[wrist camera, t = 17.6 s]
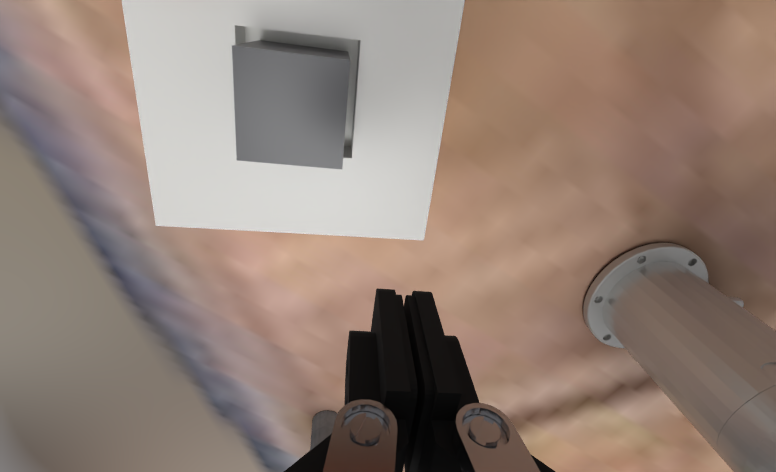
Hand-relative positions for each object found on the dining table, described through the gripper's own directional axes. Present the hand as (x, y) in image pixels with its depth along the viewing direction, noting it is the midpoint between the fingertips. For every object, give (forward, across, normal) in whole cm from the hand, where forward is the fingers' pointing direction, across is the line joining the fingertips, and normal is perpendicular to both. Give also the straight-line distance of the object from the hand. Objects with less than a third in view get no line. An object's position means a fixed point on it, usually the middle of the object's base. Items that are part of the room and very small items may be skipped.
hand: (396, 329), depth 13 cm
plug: (+22, +5, -4) cm, 23 cm away
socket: (+23, +6, -4) cm, 24 cm away
